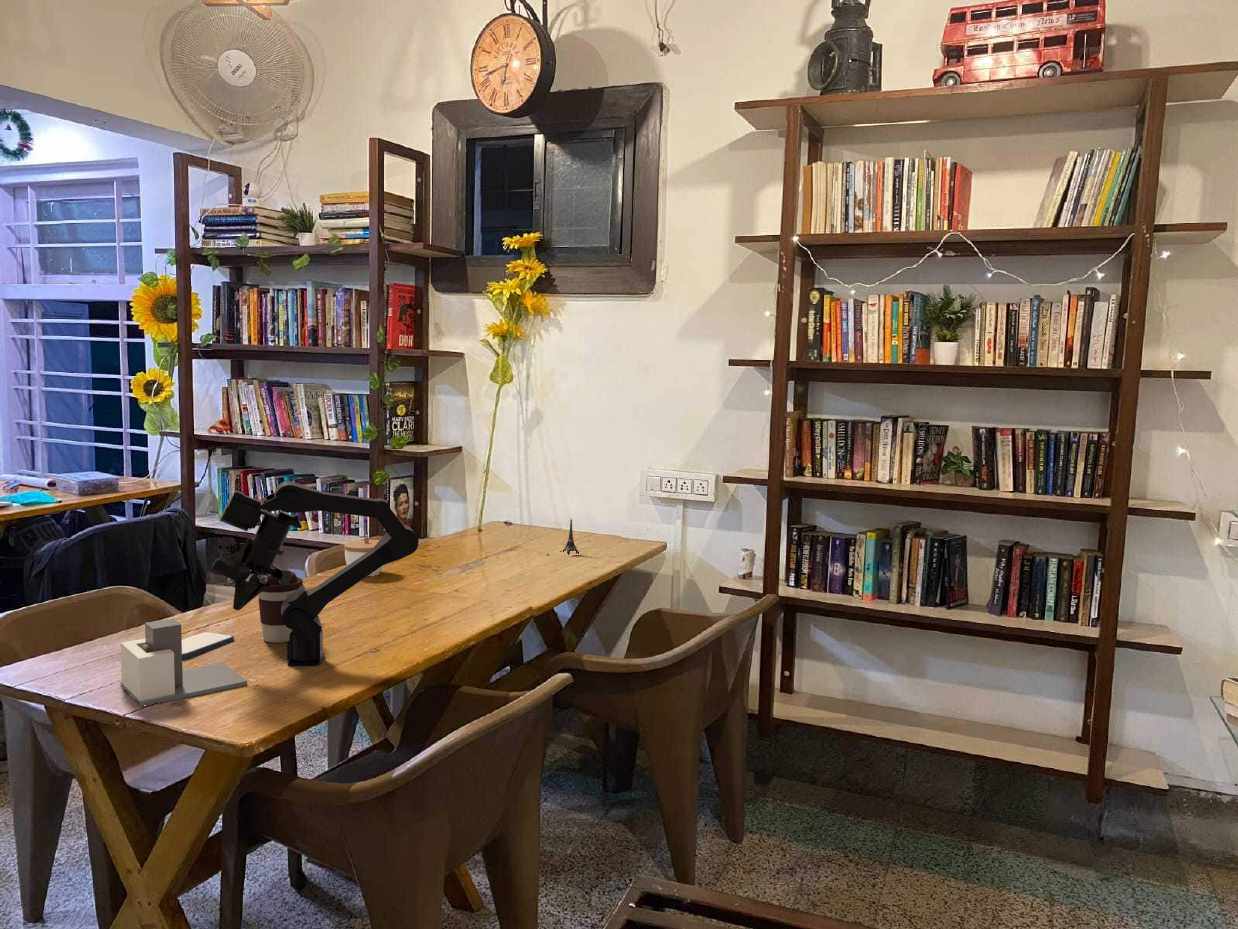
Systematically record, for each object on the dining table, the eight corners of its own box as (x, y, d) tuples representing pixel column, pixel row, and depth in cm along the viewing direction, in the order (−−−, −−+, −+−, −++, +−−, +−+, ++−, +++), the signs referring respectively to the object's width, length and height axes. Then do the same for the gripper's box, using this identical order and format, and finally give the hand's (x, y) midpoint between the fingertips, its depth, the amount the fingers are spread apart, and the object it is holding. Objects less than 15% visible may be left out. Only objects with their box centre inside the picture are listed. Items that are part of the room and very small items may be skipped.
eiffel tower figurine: (597, 554, 316) (598, 515, 315) (588, 560, 306) (589, 520, 305) (554, 551, 320) (555, 512, 318) (544, 557, 310) (545, 517, 309)
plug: (174, 678, 184) (172, 618, 182) (182, 685, 180) (181, 624, 179) (141, 685, 180) (139, 623, 178) (148, 692, 176) (147, 629, 175)
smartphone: (204, 638, 215) (150, 657, 200) (204, 631, 215) (150, 649, 200) (237, 642, 212) (183, 662, 197) (237, 635, 212) (183, 654, 197)
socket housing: (221, 666, 194) (220, 624, 193) (247, 685, 184) (246, 641, 183) (120, 685, 181) (119, 641, 180) (141, 707, 171) (140, 660, 170)
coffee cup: (311, 634, 217) (311, 570, 216) (288, 647, 208) (287, 580, 206) (272, 631, 219) (271, 567, 218) (247, 643, 210) (246, 577, 208)
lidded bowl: (392, 569, 284) (392, 533, 283) (383, 579, 272) (383, 541, 271) (350, 568, 284) (350, 532, 283) (339, 578, 271) (339, 540, 270)
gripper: (266, 528, 205) (235, 594, 204) (209, 519, 187) (174, 591, 186) (306, 549, 201) (275, 616, 200) (251, 541, 183) (217, 615, 183)
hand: (236, 609), depth 192 cm, fingers closed
